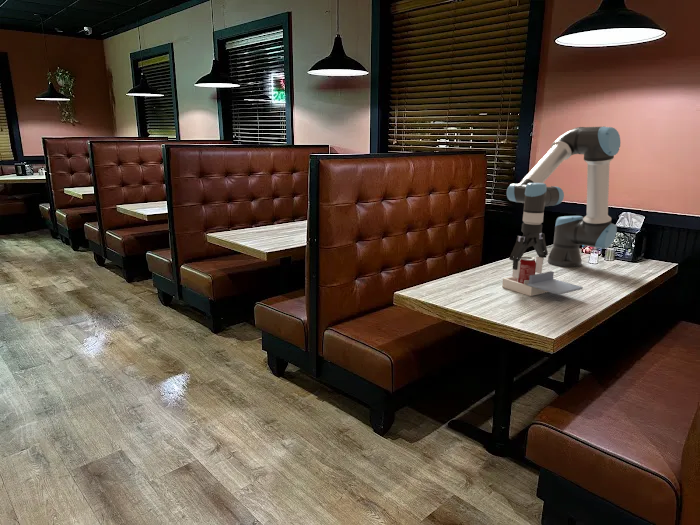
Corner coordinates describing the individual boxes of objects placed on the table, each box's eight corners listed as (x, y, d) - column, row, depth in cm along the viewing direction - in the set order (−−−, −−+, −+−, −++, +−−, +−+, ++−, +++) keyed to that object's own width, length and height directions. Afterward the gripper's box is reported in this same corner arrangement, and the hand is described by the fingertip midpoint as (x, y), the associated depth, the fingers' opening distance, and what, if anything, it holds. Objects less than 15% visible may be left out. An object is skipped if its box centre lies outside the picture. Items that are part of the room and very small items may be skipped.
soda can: (535, 290, 197) (538, 260, 194) (517, 289, 198) (520, 259, 195) (532, 285, 204) (535, 256, 201) (514, 284, 205) (517, 255, 202)
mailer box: (525, 282, 210) (526, 273, 210) (553, 290, 199) (554, 282, 198) (502, 286, 203) (503, 278, 202) (530, 296, 192) (531, 287, 191)
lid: (550, 280, 200) (551, 270, 199) (582, 289, 188) (583, 279, 187) (527, 285, 192) (528, 275, 191) (558, 294, 181) (560, 284, 180)
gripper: (544, 218, 205) (539, 268, 210) (502, 223, 192) (498, 276, 197) (560, 221, 199) (554, 272, 204) (518, 227, 186) (513, 281, 191)
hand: (527, 275), depth 201 cm, fingers open, 13 cm apart
